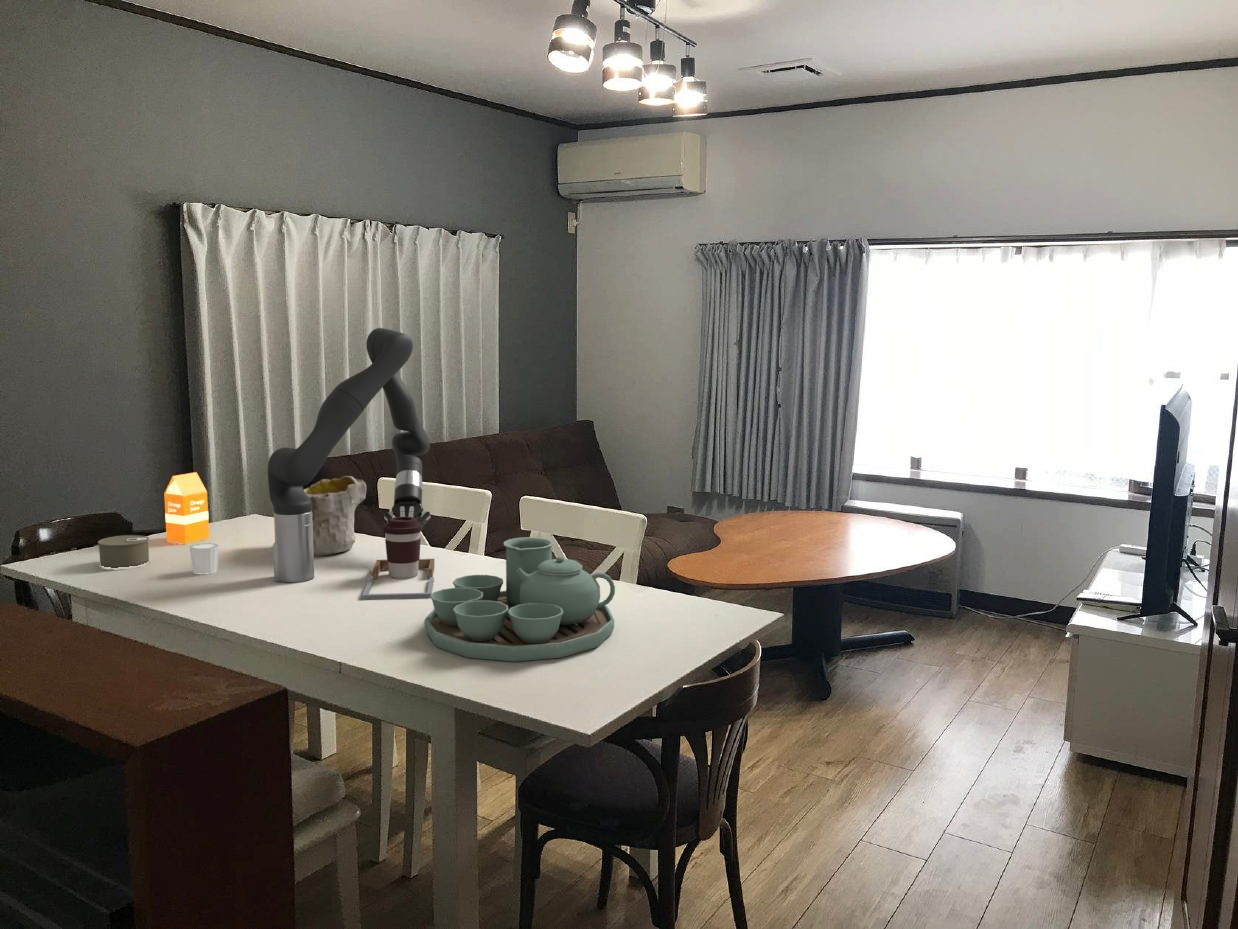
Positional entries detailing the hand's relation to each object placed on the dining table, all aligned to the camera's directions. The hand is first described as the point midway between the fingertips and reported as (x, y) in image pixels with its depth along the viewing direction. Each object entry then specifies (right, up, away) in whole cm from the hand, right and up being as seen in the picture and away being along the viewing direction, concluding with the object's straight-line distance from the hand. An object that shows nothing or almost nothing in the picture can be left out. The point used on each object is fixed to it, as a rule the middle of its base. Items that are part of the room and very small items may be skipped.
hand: (406, 543), depth 256 cm
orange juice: (-71, -2, +27) cm, 76 cm away
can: (-75, -6, -1) cm, 75 cm away
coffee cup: (+1, -8, -8) cm, 11 cm away
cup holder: (+1, -7, -7) cm, 10 cm away
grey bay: (+3, -10, -21) cm, 23 cm away
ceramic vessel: (-29, -4, +18) cm, 34 cm away
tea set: (+36, -15, -51) cm, 64 cm away
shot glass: (-50, -7, -8) cm, 51 cm away
